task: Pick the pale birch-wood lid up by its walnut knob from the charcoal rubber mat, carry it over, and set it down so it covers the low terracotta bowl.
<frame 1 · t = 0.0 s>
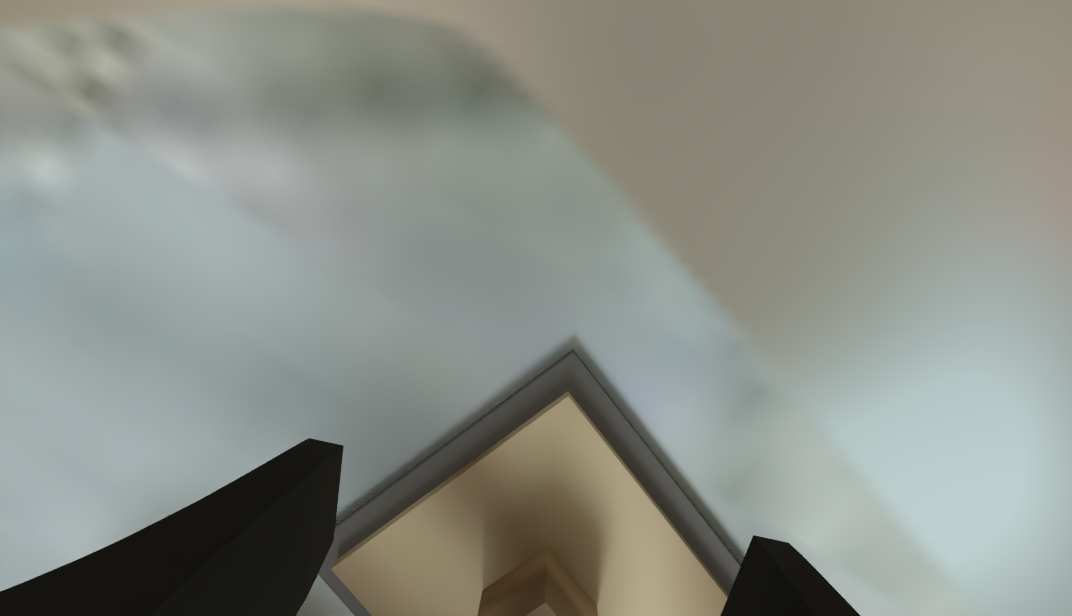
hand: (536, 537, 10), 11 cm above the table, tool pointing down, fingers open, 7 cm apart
lid: (540, 587, 21), resting on mat
mat: (540, 580, 21), on the table
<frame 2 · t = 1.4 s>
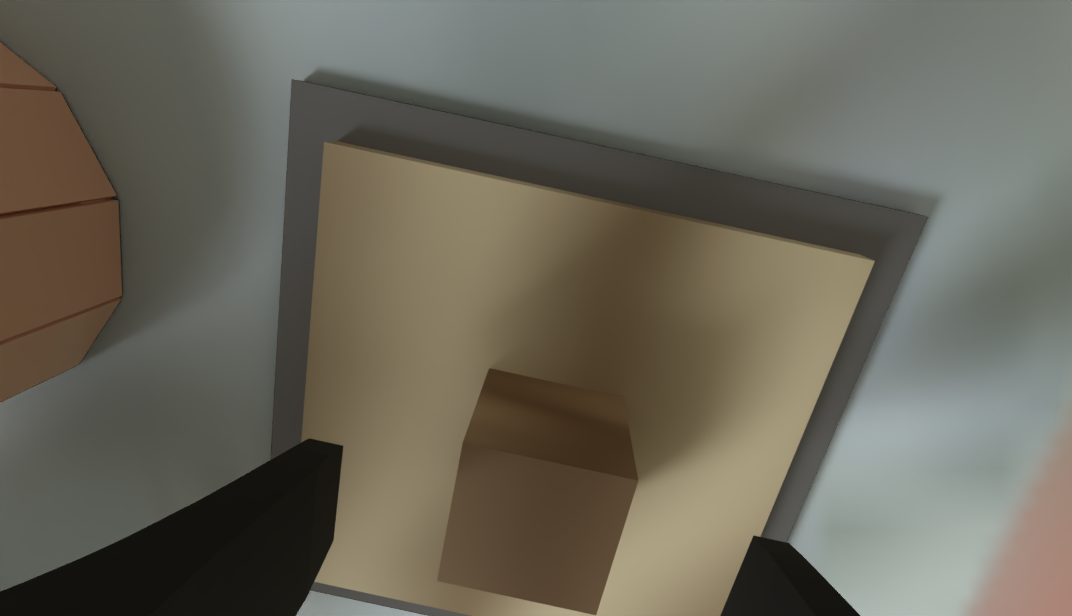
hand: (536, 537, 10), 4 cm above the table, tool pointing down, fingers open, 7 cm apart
lid: (543, 427, 13), resting on mat
mat: (544, 418, 13), on the table
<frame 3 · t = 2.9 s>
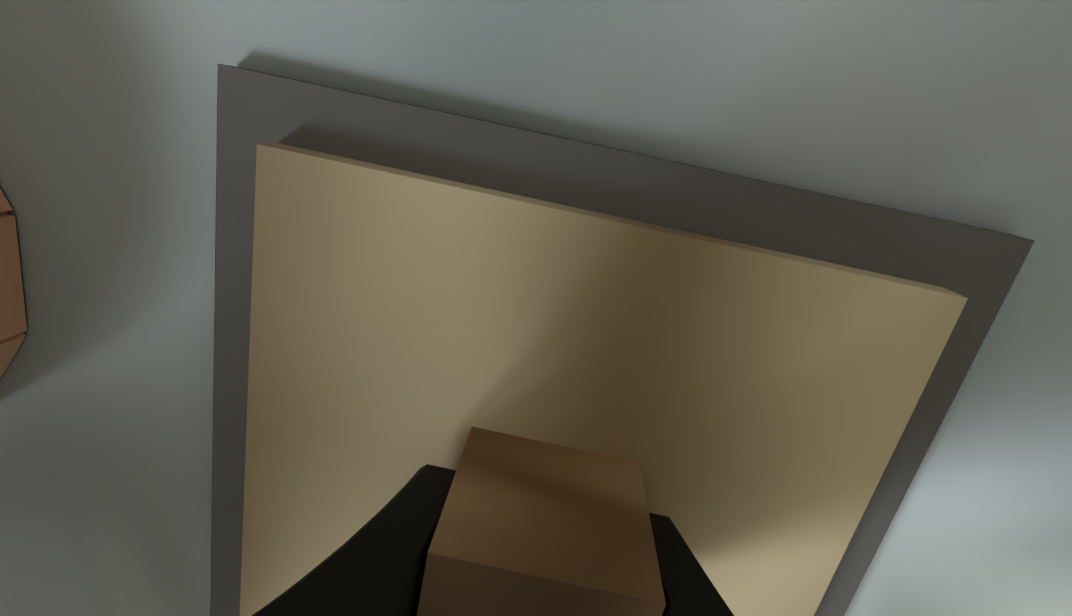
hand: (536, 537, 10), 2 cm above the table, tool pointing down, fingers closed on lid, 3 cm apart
lid: (540, 493, 11), resting on mat, touching gripper
mat: (541, 480, 11), on the table
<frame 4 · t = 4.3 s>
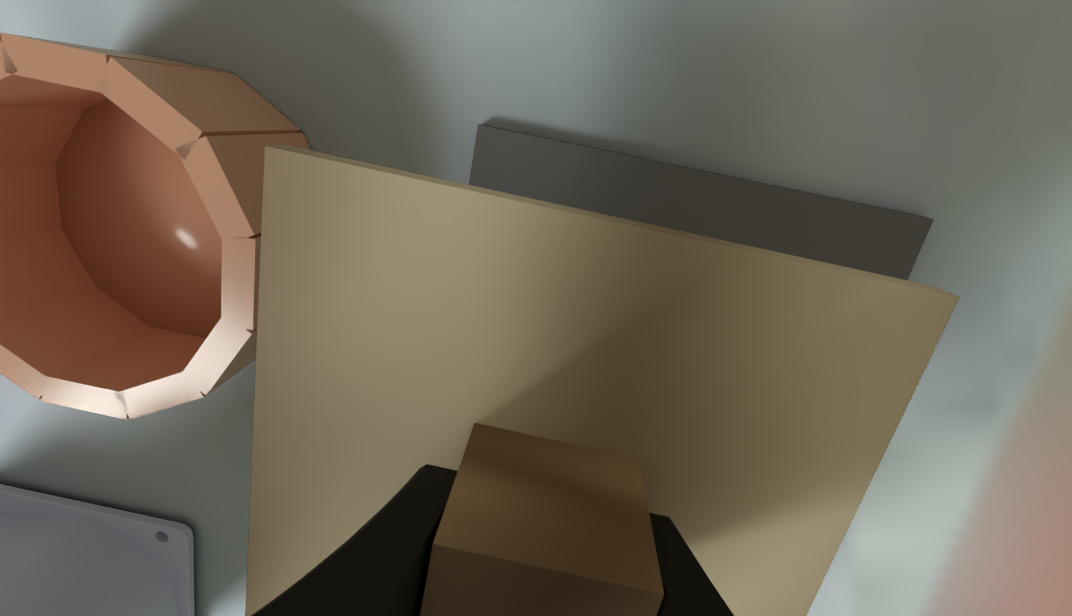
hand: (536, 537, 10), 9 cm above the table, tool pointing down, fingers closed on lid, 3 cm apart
bowl: (194, 217, 17), on the table
lid: (541, 488, 11), point 7 cm above the table, touching gripper
mat: (644, 371, 18), on the table
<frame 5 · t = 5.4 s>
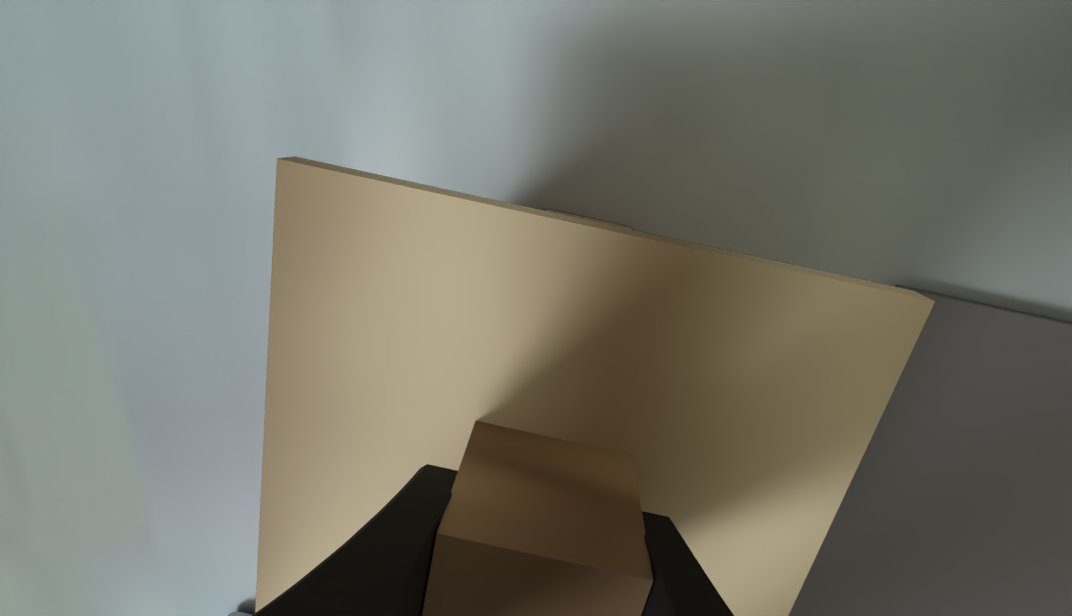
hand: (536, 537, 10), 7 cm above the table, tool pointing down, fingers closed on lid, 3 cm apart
lid: (539, 483, 11), point 5 cm above the table, touching gripper
mat: (1016, 528, 17), on the table
when the fingers open (7 cm above the table, at t = 6.1 s): lid stays where it is, resting on bowl.
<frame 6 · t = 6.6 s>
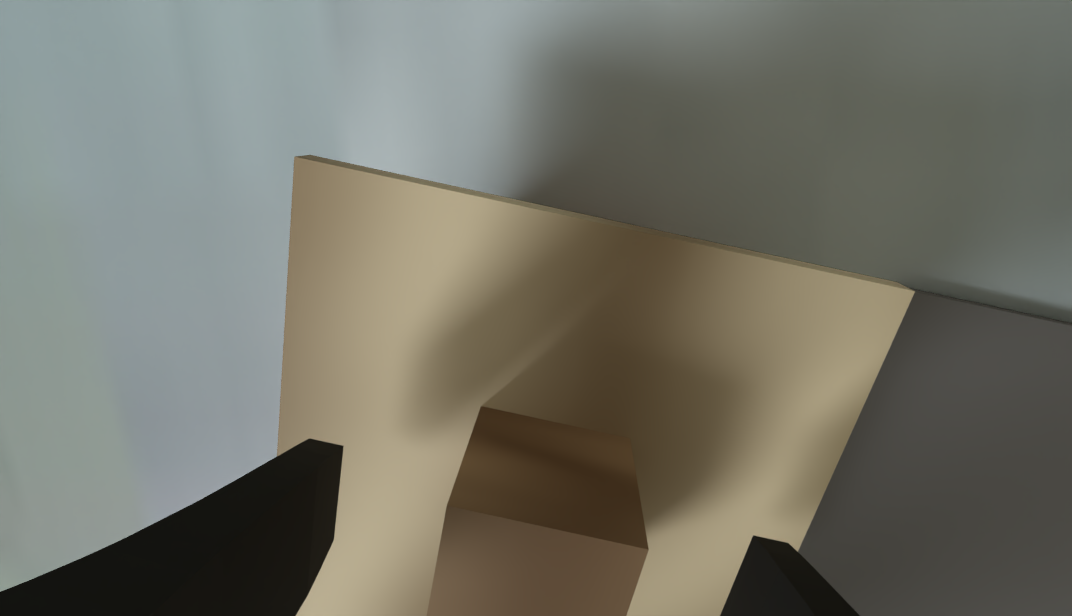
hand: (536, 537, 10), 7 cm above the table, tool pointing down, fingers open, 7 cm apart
lid: (541, 467, 12), point 4 cm above the table, touching bowl
mat: (1024, 534, 17), on the table
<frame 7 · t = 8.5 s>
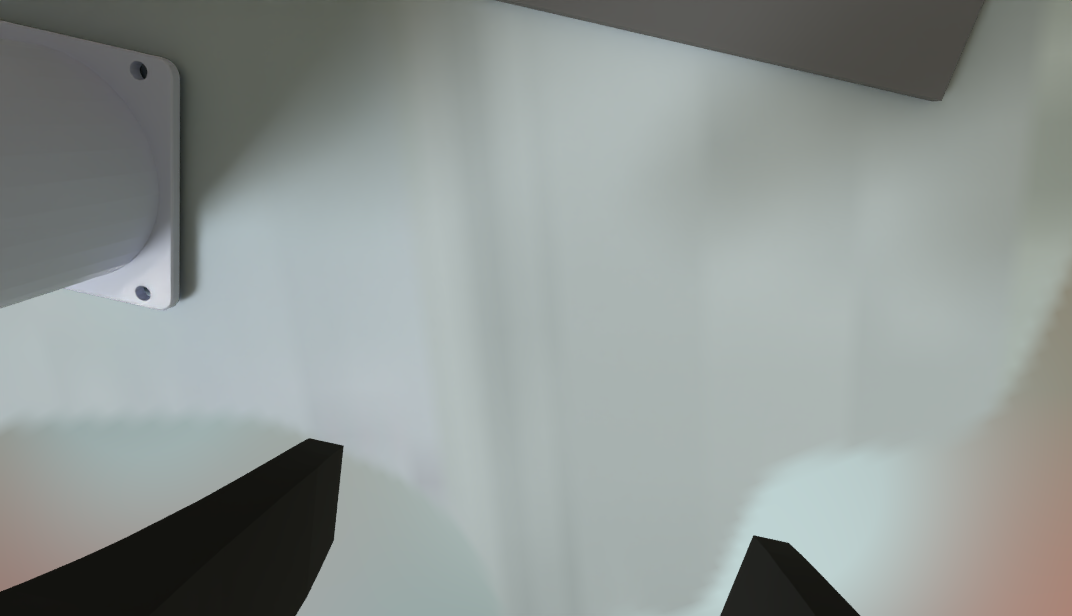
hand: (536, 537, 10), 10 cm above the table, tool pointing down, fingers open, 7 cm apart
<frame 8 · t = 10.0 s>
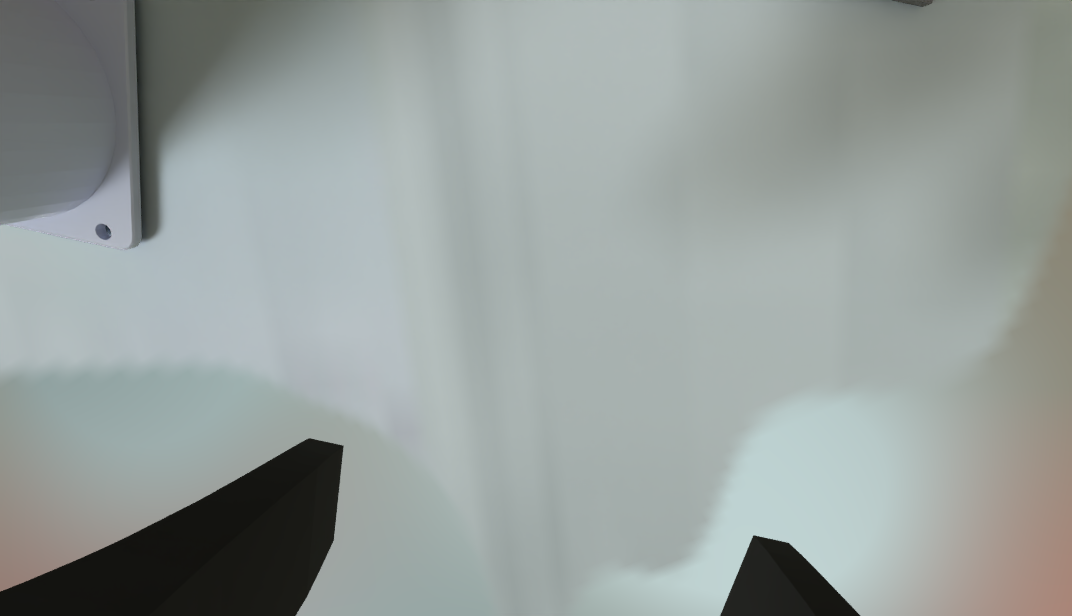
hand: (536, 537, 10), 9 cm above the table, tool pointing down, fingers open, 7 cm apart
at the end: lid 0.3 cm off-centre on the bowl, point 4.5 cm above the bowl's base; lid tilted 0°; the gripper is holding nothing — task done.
